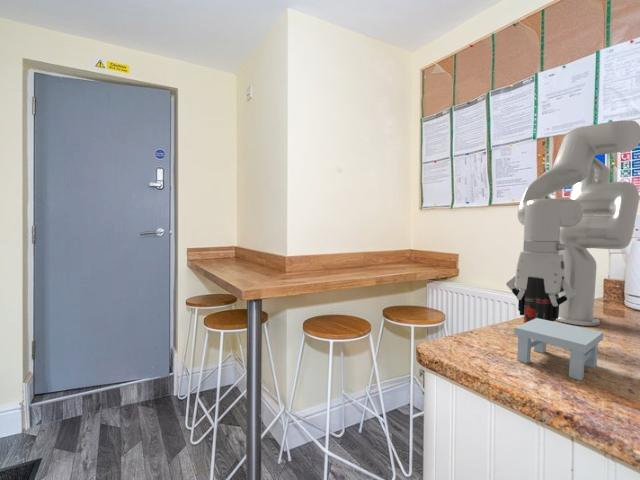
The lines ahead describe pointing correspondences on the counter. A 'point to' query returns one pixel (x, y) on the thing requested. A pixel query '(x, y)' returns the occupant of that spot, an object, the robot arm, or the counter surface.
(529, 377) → the counter surface
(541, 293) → the deodorant
